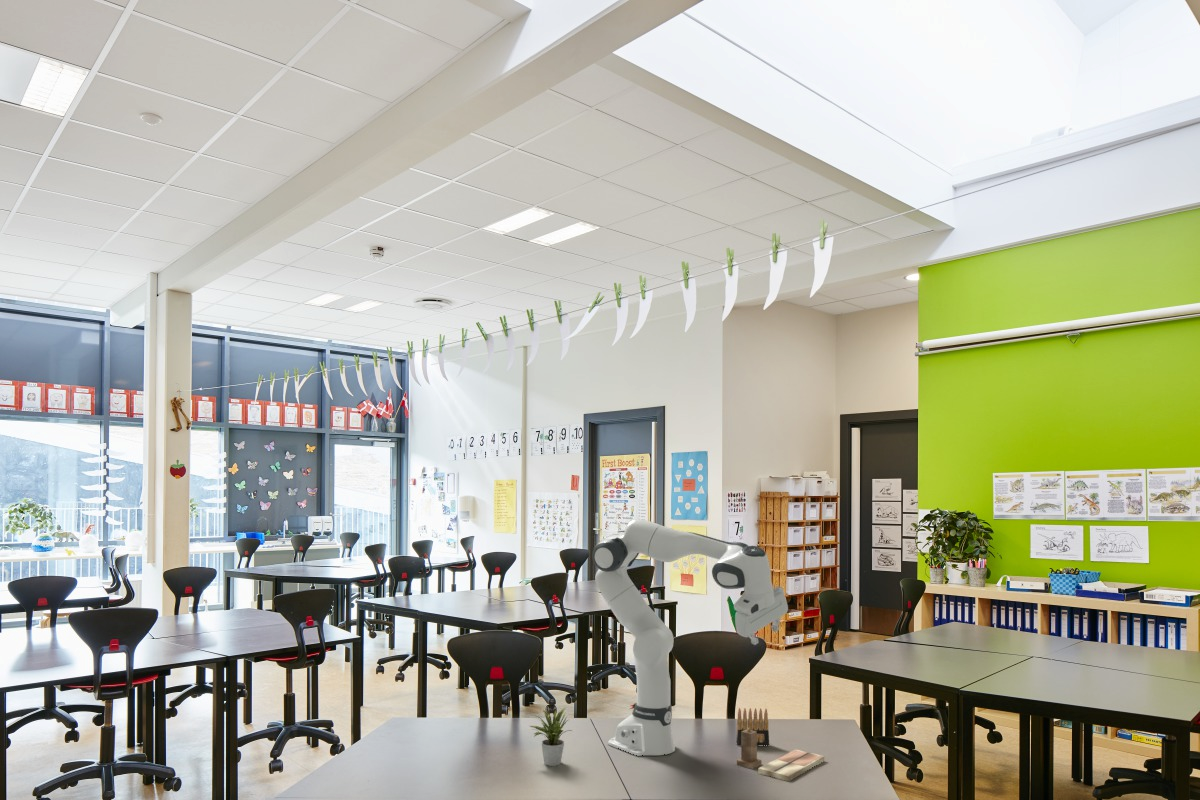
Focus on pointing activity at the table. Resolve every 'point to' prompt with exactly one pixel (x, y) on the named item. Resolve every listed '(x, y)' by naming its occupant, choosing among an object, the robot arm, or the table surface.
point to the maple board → (791, 765)
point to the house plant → (552, 738)
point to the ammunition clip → (753, 726)
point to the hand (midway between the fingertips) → (765, 637)
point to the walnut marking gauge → (749, 749)
